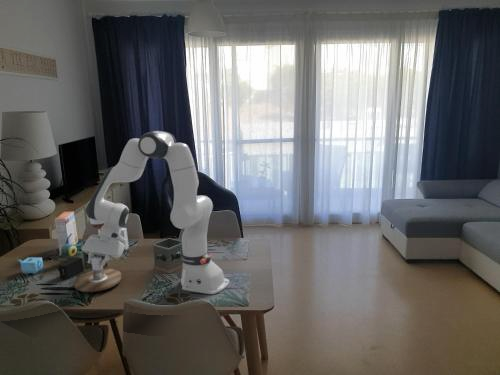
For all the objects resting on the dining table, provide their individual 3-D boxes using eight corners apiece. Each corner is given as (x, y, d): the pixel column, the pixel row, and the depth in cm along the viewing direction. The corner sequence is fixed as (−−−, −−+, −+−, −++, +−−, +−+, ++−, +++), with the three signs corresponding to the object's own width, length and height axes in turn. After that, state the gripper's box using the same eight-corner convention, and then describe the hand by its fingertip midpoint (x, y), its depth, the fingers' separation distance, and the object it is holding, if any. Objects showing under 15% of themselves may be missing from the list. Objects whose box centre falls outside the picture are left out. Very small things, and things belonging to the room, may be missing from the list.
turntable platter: (131, 276, 172) (130, 273, 172) (94, 296, 155) (94, 292, 155) (102, 268, 182) (101, 265, 182) (64, 285, 165) (64, 282, 165)
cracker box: (68, 245, 217) (63, 211, 212) (78, 245, 217) (74, 211, 213) (58, 255, 203) (53, 218, 198) (70, 254, 204) (65, 218, 199)
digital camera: (75, 269, 185) (74, 256, 184) (84, 270, 183) (82, 257, 182) (58, 278, 176) (56, 264, 174) (66, 280, 174) (65, 266, 172)
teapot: (15, 275, 180) (13, 260, 178) (23, 269, 186) (20, 255, 184) (39, 274, 180) (37, 260, 178) (46, 269, 186) (44, 255, 184)
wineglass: (105, 250, 209) (101, 216, 205) (90, 250, 209) (86, 216, 205) (111, 244, 217) (107, 212, 213) (96, 244, 217) (92, 212, 213)
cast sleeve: (105, 277, 169) (104, 256, 167) (97, 281, 165) (95, 260, 163) (99, 274, 171) (97, 254, 169) (91, 278, 168) (89, 258, 165)
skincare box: (128, 247, 212) (127, 227, 209) (125, 250, 208) (123, 230, 205) (118, 247, 213) (116, 227, 210) (115, 250, 209) (113, 230, 206)
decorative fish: (68, 264, 196) (77, 265, 194) (53, 255, 186) (63, 256, 184) (78, 242, 202) (87, 243, 201) (65, 232, 193) (74, 232, 191)
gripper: (86, 231, 174) (73, 258, 167) (122, 235, 167) (109, 264, 160) (94, 236, 179) (81, 263, 172) (129, 241, 172) (117, 269, 165)
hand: (95, 264), depth 166 cm, fingers open, 5 cm apart
